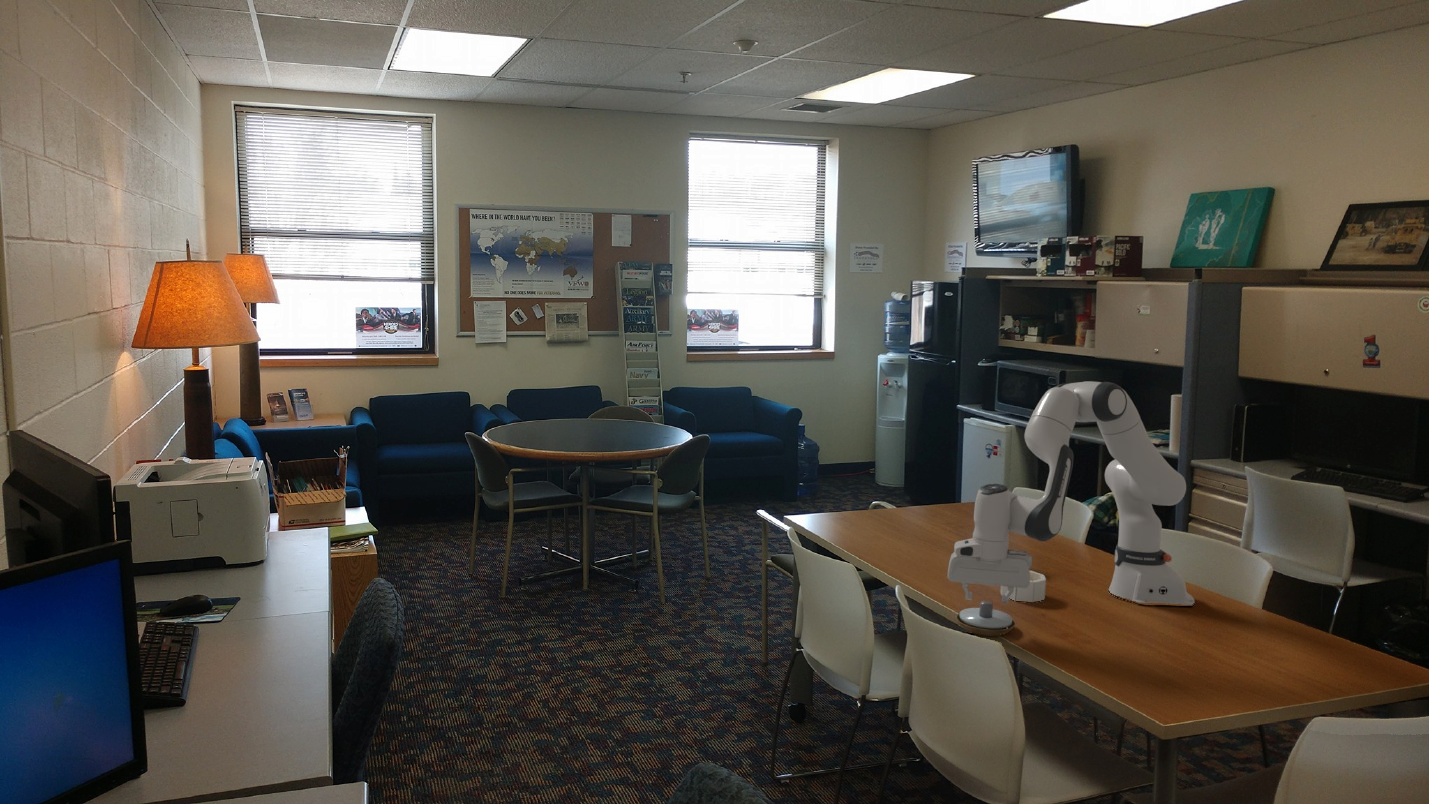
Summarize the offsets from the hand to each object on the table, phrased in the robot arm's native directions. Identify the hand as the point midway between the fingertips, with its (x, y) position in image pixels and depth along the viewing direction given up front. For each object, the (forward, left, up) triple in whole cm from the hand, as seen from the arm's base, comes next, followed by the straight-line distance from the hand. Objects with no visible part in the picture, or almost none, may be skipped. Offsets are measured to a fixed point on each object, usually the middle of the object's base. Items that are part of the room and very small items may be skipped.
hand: (986, 600), depth 246 cm
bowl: (-12, -30, -7) cm, 33 cm away
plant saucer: (0, 0, -8) cm, 8 cm away
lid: (0, 0, -5) cm, 5 cm away
